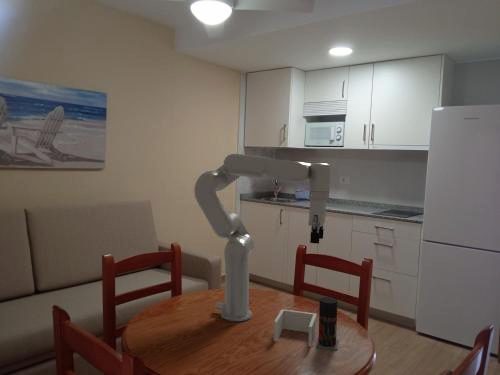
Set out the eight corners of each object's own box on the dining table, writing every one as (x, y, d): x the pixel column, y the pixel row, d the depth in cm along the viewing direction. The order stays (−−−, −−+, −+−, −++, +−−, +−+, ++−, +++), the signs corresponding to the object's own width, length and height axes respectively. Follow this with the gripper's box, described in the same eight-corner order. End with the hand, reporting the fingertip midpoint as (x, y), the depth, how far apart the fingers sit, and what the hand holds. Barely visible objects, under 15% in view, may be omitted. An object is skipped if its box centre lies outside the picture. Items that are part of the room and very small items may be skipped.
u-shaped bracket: (273, 341, 135) (274, 321, 135) (281, 327, 147) (281, 309, 146) (311, 347, 131) (311, 326, 131) (316, 332, 143) (316, 313, 142)
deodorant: (336, 347, 130) (337, 303, 129) (318, 345, 132) (319, 302, 131) (335, 339, 136) (337, 297, 135) (318, 338, 137) (319, 296, 136)
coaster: (316, 347, 131) (316, 345, 131) (318, 338, 138) (318, 337, 138) (337, 350, 129) (337, 349, 129) (338, 341, 136) (338, 340, 136)
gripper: (313, 193, 157) (311, 235, 158) (304, 197, 140) (302, 244, 141) (332, 194, 154) (329, 237, 155) (325, 198, 138) (323, 246, 139)
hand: (316, 240), depth 148 cm, fingers open, 9 cm apart
